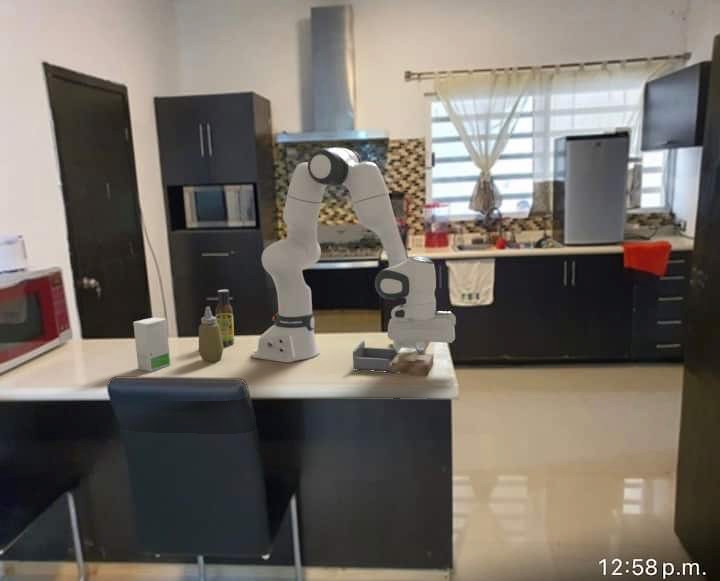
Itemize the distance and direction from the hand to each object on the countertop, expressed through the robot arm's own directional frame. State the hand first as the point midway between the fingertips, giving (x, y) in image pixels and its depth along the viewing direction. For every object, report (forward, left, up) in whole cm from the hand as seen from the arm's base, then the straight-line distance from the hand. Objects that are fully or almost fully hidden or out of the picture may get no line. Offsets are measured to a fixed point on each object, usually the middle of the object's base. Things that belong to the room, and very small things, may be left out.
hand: (421, 354), depth 172 cm
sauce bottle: (-73, +12, -5) cm, 74 cm away
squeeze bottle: (-69, -5, -5) cm, 69 cm away
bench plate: (-2, 0, -4) cm, 5 cm away
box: (-14, 0, -4) cm, 15 cm away
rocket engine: (-7, +18, -5) cm, 20 cm away
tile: (-4, 0, -1) cm, 4 cm away
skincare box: (-84, -15, -5) cm, 85 cm away
